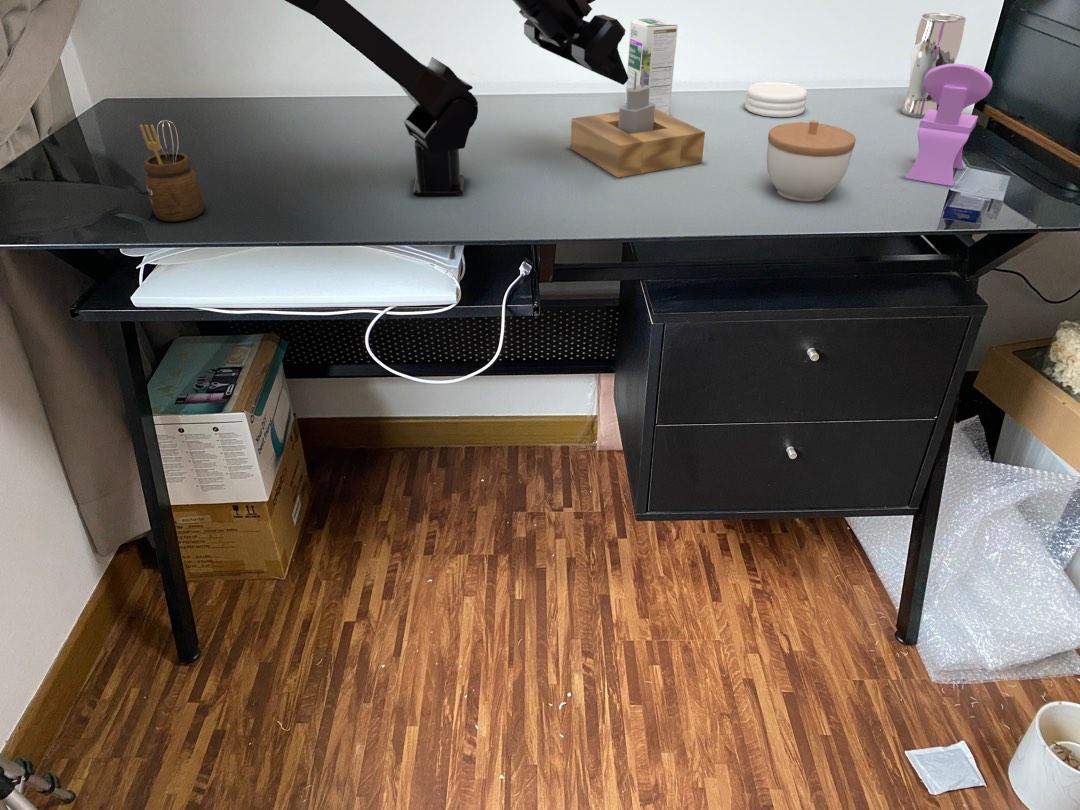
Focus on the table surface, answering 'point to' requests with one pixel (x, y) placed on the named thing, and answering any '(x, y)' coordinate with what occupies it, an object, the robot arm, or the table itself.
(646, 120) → the power adapter
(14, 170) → the table surface
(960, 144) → the chair
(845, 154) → the trinket box
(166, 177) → the utensil holder
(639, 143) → the block
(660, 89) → the syrup box
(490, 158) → the table surface
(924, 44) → the silver tumbler
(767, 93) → the white layered disc
